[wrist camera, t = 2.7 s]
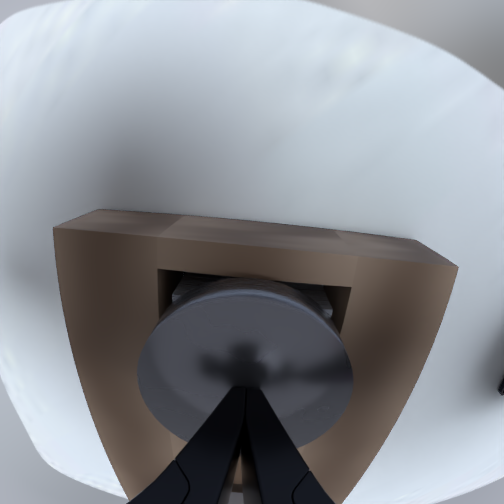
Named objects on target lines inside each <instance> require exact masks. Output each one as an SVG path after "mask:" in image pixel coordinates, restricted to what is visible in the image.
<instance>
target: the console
mask: <svg viewBox="0 0 504 504" xmlns="http://www.w3.org/2000/svg"><path fill="white" fill-rule="evenodd" d="M53 237H54V248H55V258H56V267H57V275H58V282H59V289H60V295H61V301H62V307H63V312H64V317H65V322H66V327H67V332H68V336H69V341H70V345H71V349H72V353H73V357H74V361H75V365H76V368H77V372H78V376H79V379H80V382H81V386H82V389H83V392H84V395H85V398H86V401H87V404H88V407H89V410H90V413H91V416H92V419H93V421H94V424H95V427H96V429H97V432H98V434H99V437H100V439H101V442H102V444H103V447H104V449H105V451H106V454H107V456H108V458H109V461H110V463H111V465H112V467H113V469H114V471H115V474H116V476H117V478H118V480H119V482H120V484H121V486H122V488H123V490H124V492H125V494H126V496H127V497H128V499H129V501H130V500H132V499H133V498H134V497H135V496H137V495H138V494H139V493H140V492H142V491H143V490H144V489H145V488H146V487H147V486H148V485H150V484H151V483H152V482H153V481H154V480H155V479H156V478H157V477H158V476H159V475H160V474H161V473H162V472H163V471H164V470H165V469H166V467H167V466H168V465H169V464H170V463H171V462H172V460H175V457H176V456H177V455H178V453H179V452H180V451H181V450H182V449H183V447H184V446H185V445H186V444H187V443H188V442H186V441H184V440H182V439H180V438H179V437H177V436H176V435H174V434H173V433H171V432H170V431H169V430H168V429H166V428H165V427H164V426H163V425H162V424H161V423H160V422H159V421H158V420H157V419H156V418H155V417H154V416H153V414H152V413H151V412H150V410H149V409H148V407H147V406H146V404H145V402H144V400H143V398H142V395H141V393H140V390H139V386H138V380H137V366H138V360H139V357H140V353H141V351H142V349H143V347H144V345H145V343H146V341H147V340H148V338H149V336H150V334H151V333H152V331H153V329H154V327H155V326H156V324H157V322H158V321H159V319H160V317H161V316H162V314H163V313H164V312H165V310H166V309H167V308H168V307H169V306H170V305H171V304H172V294H173V292H174V291H175V289H176V287H177V286H178V284H179V283H180V281H181V279H182V278H183V271H184V272H194V273H203V274H212V275H222V276H232V277H242V278H258V279H264V280H273V281H285V282H296V283H307V284H319V285H323V289H324V291H325V293H326V296H327V298H328V300H329V302H330V304H331V307H332V309H333V311H332V316H331V319H332V321H333V322H334V324H335V326H336V328H337V330H338V332H339V334H340V337H341V339H342V342H343V344H344V347H345V349H346V352H347V354H348V357H349V359H350V362H351V366H352V370H353V390H352V395H351V398H350V401H349V403H348V405H347V407H346V409H345V411H344V413H343V414H342V416H341V417H340V418H339V420H338V421H337V422H336V423H335V424H334V425H333V426H332V427H331V428H330V429H329V430H328V431H327V432H325V433H324V434H323V435H321V436H320V437H318V438H317V439H315V440H314V441H312V442H310V443H308V444H306V445H304V446H302V447H299V448H297V450H298V451H299V453H300V454H301V456H302V457H303V459H304V461H305V462H306V464H307V465H308V467H309V468H310V470H309V471H312V473H313V474H314V476H315V477H316V479H317V480H318V482H319V483H320V485H321V486H322V487H323V489H324V490H325V492H326V493H327V494H328V495H329V497H330V498H331V499H332V500H333V501H334V502H335V503H336V504H342V503H343V501H344V500H345V499H346V497H347V496H348V495H349V493H350V492H351V491H352V489H353V488H354V487H355V485H356V484H357V483H358V481H359V480H360V478H361V477H362V476H363V474H364V473H365V471H366V470H367V468H368V467H369V465H370V464H371V462H372V461H373V459H374V458H375V456H376V455H377V453H378V451H379V450H380V448H381V447H382V445H383V443H384V442H385V440H386V438H387V437H388V435H389V433H390V432H391V430H392V428H393V426H394V425H395V423H396V421H397V419H398V417H399V416H400V414H401V412H402V410H403V408H404V406H405V404H406V402H407V400H408V398H409V396H410V394H411V392H412V390H413V388H414V386H415V384H416V382H417V380H418V378H419V376H420V373H421V371H422V369H423V367H424V364H425V362H426V360H427V358H428V355H429V353H430V350H431V348H432V345H433V343H434V340H435V338H436V335H437V333H438V330H439V327H440V325H441V322H442V319H443V316H444V313H445V310H446V307H447V304H448V301H449V298H450V295H451V292H452V289H453V285H454V282H455V278H456V275H457V271H458V266H457V265H455V264H453V263H452V262H450V261H449V260H447V259H446V258H444V257H443V256H441V255H439V254H438V253H436V252H435V251H433V250H431V249H430V248H428V247H427V246H425V245H423V244H422V243H420V242H418V241H417V240H411V239H404V238H396V237H389V236H381V235H373V234H365V233H357V232H349V231H340V230H332V229H323V228H314V227H305V226H296V225H286V224H277V223H267V222H257V221H246V220H236V219H225V218H213V217H202V216H190V215H177V214H164V213H150V212H136V211H120V210H104V209H98V210H95V211H93V212H90V213H88V214H85V215H82V216H80V217H77V218H75V219H72V220H70V221H67V222H65V223H62V224H60V225H58V226H55V227H53ZM231 492H237V493H243V488H242V474H241V457H239V462H238V466H237V470H236V474H235V478H234V483H233V487H232V491H231Z"/></svg>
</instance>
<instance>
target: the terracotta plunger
mask: <svg viewBox="0 0 504 504" xmlns="http://www.w3.org/2000/svg"><path fill="white" fill-rule="evenodd" d="M228 504H244V502H243V493H237V492H231V495H230V499H229V503H228Z"/></svg>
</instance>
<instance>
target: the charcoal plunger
mask: <svg viewBox="0 0 504 504" xmlns="http://www.w3.org/2000/svg"><path fill="white" fill-rule="evenodd" d="M332 311H333V309H332V307H331V304H330V302H329V300H328V298H327V296H326V293H325V291H324V289H323V287H322V285H319V284H307V283H296V282H285V281H273V280H264V279H258V278H242V277H232V276H222V275H212V274H203V273H194V272H186V273H185V275H184V276H183V278H182V279H181V281H180V283H179V284H178V286H177V287H176V289H175V291H174V292H173V294H172V304H171V305H170V306H169V307H168V308H167V309H166V310H165V312H164V313H163V314H162V316H161V317H160V319H159V321H158V322H157V324H156V326H155V327H154V329H153V331H152V333H151V334H150V336H149V338H148V340H147V341H146V343H145V345H144V347H143V349H142V351H141V353H140V357H139V360H138V366H137V380H138V386H139V390H140V393H141V395H142V398H143V400H144V402H145V404H146V406H147V407H148V409H149V410H150V412H151V413H152V414H153V416H154V417H155V418H156V419H157V420H158V421H159V422H160V423H161V424H162V425H163V426H164V427H165V428H166V429H168V430H169V431H170V432H171V433H173V434H174V435H176V436H177V437H179V438H180V439H182V440H184V441H186V442H188V441H189V440H190V439H191V438H192V437H193V435H194V434H195V433H196V432H197V430H198V429H199V428H200V427H201V426H202V424H203V423H204V422H205V421H206V419H207V418H208V417H209V415H210V414H211V413H212V412H213V410H214V409H215V408H216V407H217V405H218V404H219V403H220V401H221V400H222V399H223V398H224V396H225V395H226V394H227V392H228V391H229V390H230V388H231V387H233V386H235V387H245V388H246V390H247V388H258V389H261V390H262V391H263V393H264V395H265V397H266V398H267V400H268V402H269V403H270V405H271V407H272V408H273V410H274V412H275V414H276V415H277V417H278V419H279V420H280V422H281V424H282V425H283V427H284V428H285V430H286V432H287V433H288V435H289V437H290V438H291V440H292V442H293V443H294V445H295V446H296V448H299V447H302V446H304V445H306V444H308V443H310V442H312V441H314V440H315V439H317V438H318V437H320V436H321V435H323V434H324V433H325V432H327V431H328V430H329V429H330V428H331V427H332V426H333V425H334V424H335V423H336V422H337V421H338V420H339V418H340V417H341V416H342V414H343V413H344V411H345V409H346V407H347V405H348V403H349V401H350V398H351V395H352V390H353V370H352V366H351V362H350V359H349V357H348V354H347V352H346V349H345V347H344V344H343V342H342V339H341V337H340V334H339V332H338V330H337V328H336V326H335V324H334V322H333V321H332V319H331V316H332ZM240 457H241V450H240Z"/></svg>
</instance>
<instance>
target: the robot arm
mask: <svg viewBox="0 0 504 504" xmlns="http://www.w3.org/2000/svg"><path fill="white" fill-rule="evenodd" d="M498 392H499V393H500V395H504V380H503V382H502V384H501V386H500V388H499V390H498ZM240 450H241V474H242V488H243V502H244V504H336V503H335V502H334V501H333V500H332V499H331V498H330V497H329V495H328V494H327V493H326V492H325V490H324V489H323V487H322V486H321V485H320V483H319V482H318V480H317V479H316V477H315V476H314V474H313V473H312V471H309V470H310V468H309V467H308V465H307V464H306V462H305V461H304V459H303V457H302V456H301V454H300V453H299V451H298V450H297V448H296V446H295V445H294V443H293V442H292V440H291V438H290V437H289V435H288V433H287V432H286V430H285V428H284V427H283V425H282V424H281V422H280V420H279V419H278V417H277V415H276V414H275V412H274V410H273V408H272V407H271V405H270V403H269V402H268V400H267V398H266V397H265V395H264V393H263V391H262V390H261V389H258V388H247V390H246V388H245V387H235V386H233V387H231V388H230V390H229V391H228V392H227V394H226V395H225V396H224V398H223V399H222V400H221V401H220V403H219V404H218V405H217V407H216V408H215V409H214V410H213V412H212V413H211V414H210V415H209V417H208V418H207V419H206V421H205V422H204V423H203V424H202V426H201V427H200V428H199V429H198V430H197V432H196V433H195V434H194V435H193V437H192V438H191V439H190V440H189V441H188V443H187V444H186V445H185V446H184V447H183V449H182V450H181V451H180V452H179V453H178V455H177V456H176V457H175V460H172V462H171V463H170V464H169V465H168V466H167V467H166V469H165V470H164V471H163V472H162V473H161V474H160V475H159V476H158V477H157V478H156V479H155V480H154V481H153V482H152V483H151V484H150V485H148V486H147V487H146V488H145V489H144V490H143V491H142V492H140V493H139V494H138V495H137V496H135V497H134V498H133V499H132V500H130V501H129V502H128V503H127V504H228V503H229V499H230V495H231V491H232V487H233V483H234V478H235V474H236V470H237V466H238V462H239V457H240Z"/></svg>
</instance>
